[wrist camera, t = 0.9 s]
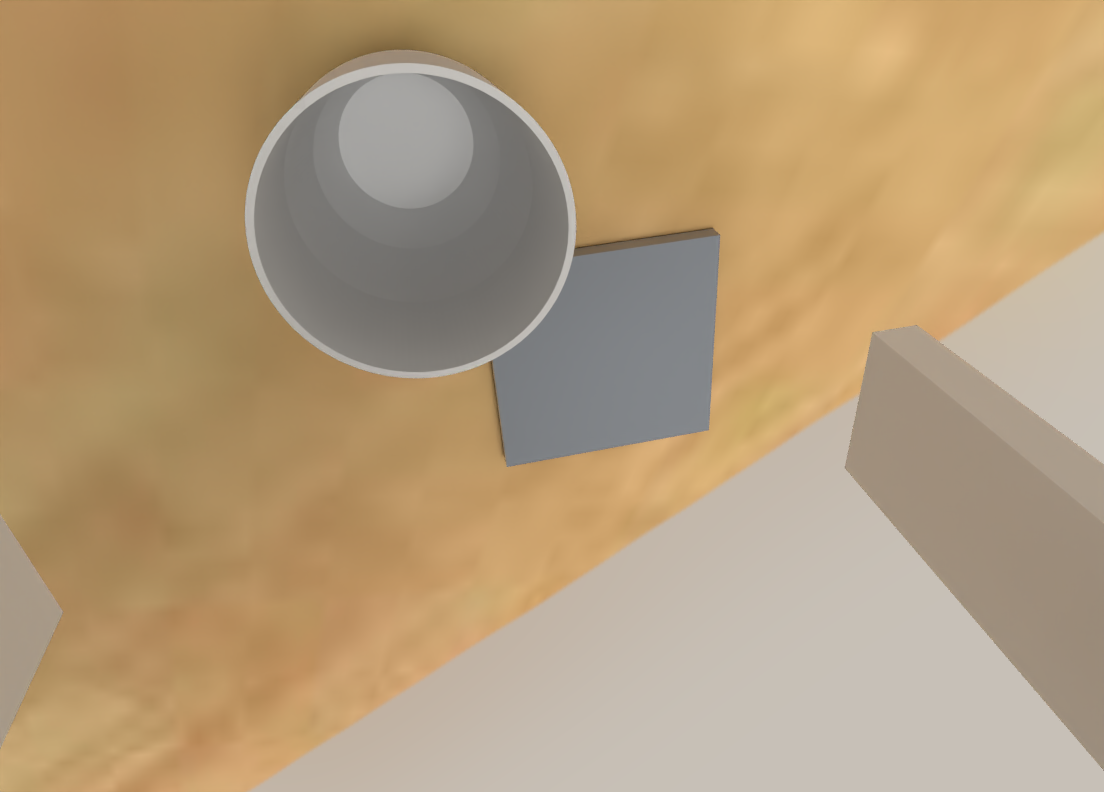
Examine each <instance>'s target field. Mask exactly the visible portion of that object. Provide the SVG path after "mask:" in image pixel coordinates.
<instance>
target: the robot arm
mask: <svg viewBox="0 0 1104 792" xmlns="http://www.w3.org/2000/svg"><path fill="white" fill-rule="evenodd" d="M845 469H846V470H847V471H848V472H849V473H850V475H851V476H852V477H853V478H854V479H855V480H856V482H857V483H858V484H859V485H860V486H861V487H862V489H863V490H864V491H865V492H866V493H867V494H868V496H869V497H870V498H871V499H872V500H873V501H874V503H875V504H876V505H877V506H878V507H879V508H880V510H881V511H882V512H883V513H884V514H885V515H886V517H887V518H888V519H889V520H890V521H891V523H892V524H893V525H894V526H895V527H896V528H897V530H898V531H899V532H900V533H901V534H902V535H903V536H904V538H905V539H906V540H907V541H908V542H909V544H910V545H911V546H912V547H913V548H914V549H915V550H916V552H917V553H918V554H919V555H920V556H921V557H922V559H923V560H924V561H925V562H926V563H927V565H928V566H929V567H930V568H931V569H932V570H933V572H934V573H935V574H936V575H937V576H938V577H939V578H940V580H941V581H942V582H943V583H944V584H945V586H946V587H947V588H948V589H949V590H950V591H951V593H952V594H953V595H954V596H955V597H956V598H957V600H958V601H959V602H960V603H961V604H962V605H963V606H964V608H965V609H966V610H967V611H968V612H969V613H970V615H971V616H972V617H973V618H974V619H975V620H976V622H977V623H978V624H979V625H980V626H981V628H982V629H983V630H984V631H985V632H986V633H987V635H988V636H989V637H990V638H991V639H992V640H993V641H994V643H995V644H996V645H997V646H998V647H999V649H1000V650H1001V651H1002V652H1003V653H1004V654H1005V656H1006V657H1007V658H1008V659H1009V660H1010V661H1011V663H1012V664H1013V665H1014V666H1015V667H1016V668H1017V670H1018V671H1019V672H1020V673H1021V674H1022V676H1023V677H1024V678H1025V679H1026V680H1027V681H1028V683H1029V684H1030V685H1031V686H1032V687H1033V688H1034V690H1035V691H1036V692H1037V693H1038V694H1039V695H1040V696H1041V698H1042V699H1043V700H1044V701H1045V702H1046V703H1047V705H1048V706H1049V707H1050V708H1051V709H1052V710H1053V711H1054V713H1055V714H1056V715H1057V716H1058V718H1059V719H1060V720H1061V721H1062V722H1063V723H1064V725H1065V726H1066V727H1067V728H1068V729H1069V730H1070V732H1071V733H1072V734H1073V735H1074V736H1075V737H1076V738H1077V740H1078V741H1079V742H1080V743H1081V744H1082V746H1083V747H1084V748H1085V749H1086V750H1087V751H1088V753H1089V754H1090V755H1091V756H1092V757H1093V758H1094V759H1095V761H1096V762H1097V763H1098V764H1099V765H1100V767H1101V768H1102V769H1103V770H1104V464H1102V463H1101V462H1100V461H1098V460H1097V459H1096V458H1094V457H1093V456H1092V455H1090V454H1089V453H1088V452H1086V451H1085V450H1084V449H1082V448H1081V447H1080V446H1078V445H1077V444H1076V443H1074V442H1073V441H1072V440H1070V439H1069V438H1068V437H1066V436H1065V435H1064V434H1062V433H1061V432H1059V431H1058V430H1057V429H1056V428H1054V427H1053V426H1052V425H1050V424H1049V423H1047V422H1046V421H1045V420H1043V419H1042V418H1040V417H1039V416H1038V415H1037V414H1035V413H1034V412H1033V411H1031V410H1030V409H1029V408H1027V407H1026V406H1024V405H1023V404H1022V403H1021V402H1019V401H1018V400H1017V399H1015V398H1014V397H1013V396H1011V395H1010V394H1009V393H1007V392H1006V391H1005V390H1003V389H1002V388H1001V387H999V386H998V385H996V384H995V383H994V382H992V381H991V380H990V379H988V378H987V377H986V376H984V375H983V374H982V373H980V372H979V371H978V370H976V369H975V368H974V367H972V366H971V365H970V364H968V363H967V362H966V361H964V360H963V359H961V358H960V357H959V356H957V355H956V354H955V353H953V352H952V351H951V350H949V349H948V348H947V347H945V346H944V345H943V344H941V343H940V342H939V341H937V340H936V339H935V338H933V337H932V336H931V335H929V334H928V333H927V332H925V331H924V330H923V329H921V328H920V327H919V326H917V325H915V326H909V327H902V328H896V329H890V330H884V331H877V332H872V337H871V342H870V347H869V352H868V357H867V362H866V367H865V371H864V376H863V381H862V386H861V391H860V396H859V401H858V406H857V411H856V416H855V421H854V425H853V430H852V435H851V440H850V445H849V450H848V455H847V460H846V465H845ZM62 614H63V611H62V609H61V608H60V606H59V605H58V603H57V601H56V600H55V598H54V597H53V595H52V594H51V592H50V591H49V589H48V588H47V586H46V584H45V583H44V581H43V580H42V578H41V577H40V575H39V574H38V572H37V570H36V569H35V567H34V566H33V564H32V563H31V561H30V560H29V558H28V557H27V555H26V553H25V552H24V550H23V549H22V547H21V546H20V544H19V543H18V541H17V540H16V538H15V536H14V535H13V533H12V532H11V530H10V529H9V527H8V526H7V524H6V522H5V521H4V519H3V518H2V516H1V515H0V748H1V746H2V744H3V742H4V739H5V737H6V735H7V733H8V731H9V729H10V726H11V724H12V722H13V720H14V718H15V716H16V714H17V711H18V709H19V707H20V705H21V703H22V701H23V698H24V696H25V694H26V692H27V690H28V688H29V685H30V683H31V681H32V679H33V677H34V675H35V672H36V670H37V668H38V666H39V664H40V662H41V659H42V657H43V655H44V653H45V651H46V649H47V646H48V644H49V642H50V640H51V638H52V636H53V633H54V631H55V629H56V627H57V625H58V623H59V620H60V618H61V616H62Z"/></svg>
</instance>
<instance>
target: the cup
mask: <svg viewBox="0 0 1104 792" xmlns="http://www.w3.org/2000/svg"><path fill="white" fill-rule="evenodd" d="M245 228H246V237H247V243H248V248H249V253H250V256H251V260H252V263H253V266H254V269H255V271H256V274H257V276H258V279H259V281H260V283H261V285H262V287H263V289H264V291H265V292H266V294H267V296H268V297H269V299H270V301H271V302H272V304H273V305H274V306H275V308H276V309H277V310H278V312H279V313H280V314H281V316H282V317H283V318H284V319H285V320H286V321H287V322H288V324H289V325H290V326H291V327H292V328H293V329H294V330H295V331H297V332H298V333H299V334H300V335H301V336H302V337H303V338H305V339H306V340H307V341H308V342H310V343H311V344H312V345H314V346H315V347H317V348H318V349H320V350H321V351H323V352H324V353H326V354H328V355H329V356H331V357H333V358H335V359H337V360H339V361H341V362H343V363H345V364H348V365H350V366H353V367H355V368H358V369H361V370H364V371H368V372H371V373H376V374H380V375H385V376H392V377H400V378H431V377H440V376H446V375H451V374H455V373H460V372H463V371H466V370H470V369H473V368H475V367H478V366H480V365H483V364H485V363H487V362H489V361H491V360H493V359H495V358H497V357H499V356H500V355H502V354H504V353H505V352H507V351H508V350H510V349H511V348H513V347H514V346H516V345H517V344H518V343H519V342H521V341H522V340H523V339H524V338H525V337H526V336H528V335H529V334H530V333H531V332H532V331H533V330H534V329H535V328H536V327H537V325H538V324H539V323H540V322H541V321H542V320H543V318H544V317H545V316H546V315H547V313H548V312H549V310H550V309H551V307H552V306H553V304H554V303H555V301H556V299H557V298H558V296H559V294H560V292H561V290H562V288H563V286H564V283H565V281H566V278H567V275H568V273H569V269H570V266H571V262H572V258H573V254H574V248H575V240H576V212H575V203H574V197H573V193H572V188H571V185H570V181H569V178H568V175H567V172H566V170H565V167H564V165H563V163H562V160H561V158H560V156H559V154H558V152H557V151H556V149H555V147H554V145H553V144H552V142H551V141H550V139H549V138H548V136H547V135H546V133H545V132H544V131H543V129H542V128H541V127H540V126H539V125H538V123H537V122H536V121H535V120H534V119H533V118H532V117H531V116H530V115H529V114H528V113H527V112H526V111H525V110H524V109H523V108H522V107H521V106H520V105H519V104H517V103H516V102H515V101H514V100H512V99H511V98H510V97H509V96H507V95H506V94H505V93H504V92H502V91H501V90H500V89H498V88H497V87H496V86H495V85H493V84H492V83H491V82H490V81H488V80H487V79H486V78H484V77H483V76H482V75H480V74H479V73H477V72H476V71H474V70H472V69H471V68H469V67H467V66H465V65H463V64H461V63H459V62H457V61H455V60H452V59H450V58H447V57H444V56H441V55H437V54H433V53H429V52H423V51H416V50H387V51H380V52H375V53H370V54H366V55H363V56H360V57H357V58H355V59H352V60H350V61H347V62H345V63H343V64H341V65H340V66H338V67H336V68H334V69H333V70H331V71H330V72H328V73H327V74H326V75H324V76H323V77H322V78H320V79H319V80H318V81H317V82H316V83H315V84H314V85H313V86H312V87H311V88H310V89H309V90H308V91H307V92H306V93H305V94H304V95H303V96H302V97H301V98H300V99H299V100H298V101H297V102H296V103H295V104H294V105H293V106H292V108H291V109H290V110H289V111H288V112H287V113H286V114H285V115H284V116H283V117H282V118H281V119H280V121H279V122H278V123H277V124H276V126H275V127H274V128H273V130H272V131H271V133H270V134H269V136H268V137H267V139H266V140H265V142H264V144H263V146H262V148H261V150H260V152H259V154H258V156H257V158H256V161H255V163H254V166H253V169H252V172H251V175H250V179H249V183H248V188H247V194H246V203H245Z"/></svg>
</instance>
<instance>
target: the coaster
mask: <svg viewBox="0 0 1104 792" xmlns="http://www.w3.org/2000/svg"><path fill="white" fill-rule="evenodd" d="M719 247H720V234H718V233H717V232H716V231H715V230H714V229H713V228H712V229H706V230H699V231H692V232H685V233H678V234H671V235H664V236H658V237H651V238H644V239H637V240H630V241H623V242H616V243H610V244H603V245H596V246H589V247H582V248H575V249H574V254H573V258H572V262H571V266H570V269H569V273H568V275H567V278H566V281H565V283H564V286H563V288H562V290H561V292H560V294H559V296H558V298H557V299H556V301H555V303H554V304H553V306H552V307H551V309H550V310H549V312H548V313H547V315H546V316H545V317H544V318H543V320H542V321H541V322H540V323H539V324H538V325H537V327H536V328H535V329H534V330H533V331H532V332H531V333H530V334H529V335H528V336H526V337H525V338H524V339H523V340H522V341H521V342H519V343H518V344H517V345H516V346H514V347H513V348H511V349H510V350H508V351H507V352H505V353H504V354H502V355H500V356H499V357H497V358H495V359H493V360H491V361H492V369H493V376H494V383H495V391H496V398H497V405H498V413H499V420H500V427H501V435H502V442H503V449H504V456H505V461H506V465H507V467H509V466H515V465H520V464H526V463H531V462H537V461H542V460H548V459H553V458H559V457H564V456H570V455H575V454H581V453H586V452H592V451H597V450H602V449H608V448H613V447H619V446H624V445H630V444H635V443H641V442H646V441H652V440H657V439H663V438H668V437H674V436H679V435H685V434H690V433H696V432H701V431H707V430H709V418H710V401H711V384H712V367H713V349H714V332H715V315H716V298H717V281H718V264H719Z"/></svg>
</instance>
